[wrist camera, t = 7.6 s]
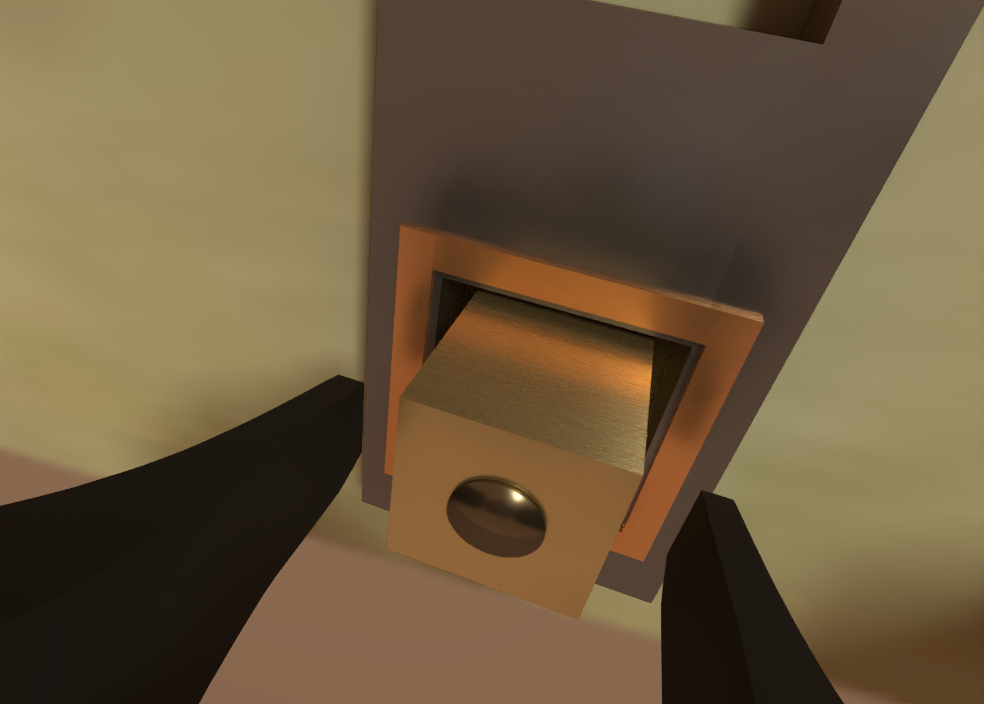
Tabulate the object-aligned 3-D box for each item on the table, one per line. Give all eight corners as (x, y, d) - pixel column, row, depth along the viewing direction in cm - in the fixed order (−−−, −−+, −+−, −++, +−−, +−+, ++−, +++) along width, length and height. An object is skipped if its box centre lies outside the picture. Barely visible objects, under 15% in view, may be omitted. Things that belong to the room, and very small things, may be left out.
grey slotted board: (1417, -951, 5) (1816, -1470, 3) (653, 547, 17) (650, 608, 15) (484, -887, 6) (409, -1234, 5) (389, 458, 19) (359, 505, 17)
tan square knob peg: (657, 304, 13) (643, 480, 8) (610, 427, 15) (577, 624, 10) (499, 260, 14) (397, 400, 9) (476, 385, 16) (384, 553, 11)
